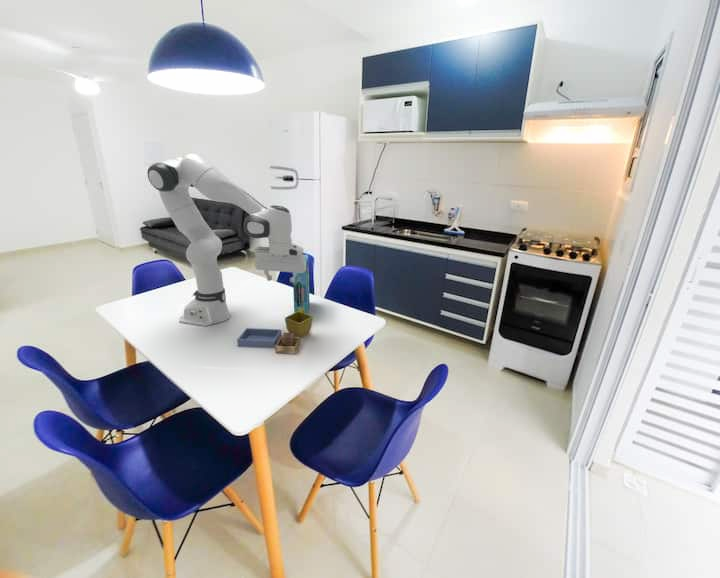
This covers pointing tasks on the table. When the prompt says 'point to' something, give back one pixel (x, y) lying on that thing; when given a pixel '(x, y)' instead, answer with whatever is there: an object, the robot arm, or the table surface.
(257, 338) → the blue tray
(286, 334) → the walnut block
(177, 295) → the table surface
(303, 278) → the game box
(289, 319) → the flower pot
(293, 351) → the wooden serving tray
